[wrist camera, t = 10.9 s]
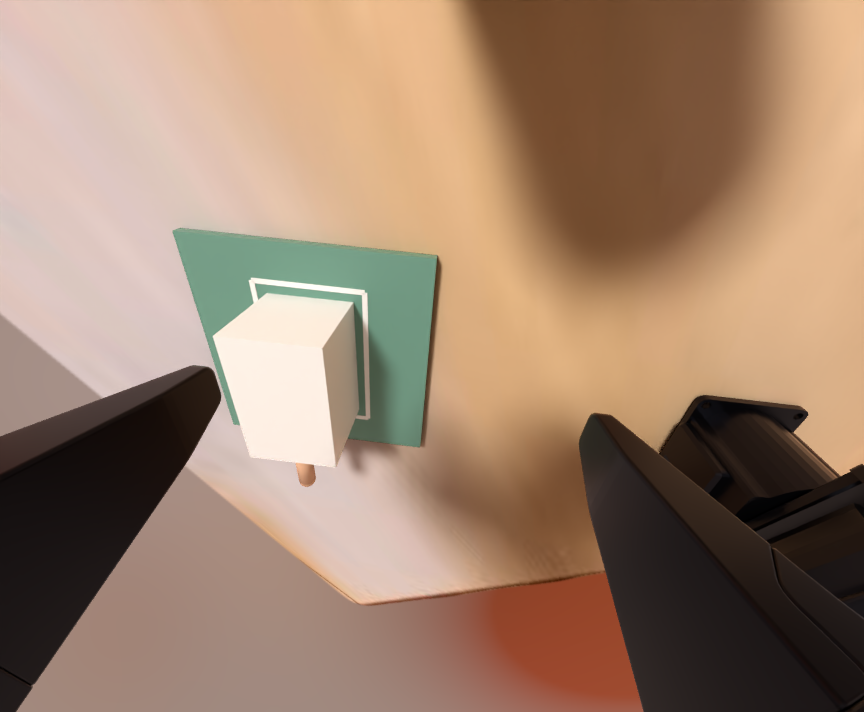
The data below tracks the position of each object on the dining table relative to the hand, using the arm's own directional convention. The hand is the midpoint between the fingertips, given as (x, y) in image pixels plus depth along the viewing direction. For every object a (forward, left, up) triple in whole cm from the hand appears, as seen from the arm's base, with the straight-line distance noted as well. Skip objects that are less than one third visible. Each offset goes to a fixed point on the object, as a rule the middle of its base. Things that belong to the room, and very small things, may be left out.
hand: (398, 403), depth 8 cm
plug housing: (+7, +9, -11) cm, 16 cm away
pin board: (+7, +7, -12) cm, 16 cm away
